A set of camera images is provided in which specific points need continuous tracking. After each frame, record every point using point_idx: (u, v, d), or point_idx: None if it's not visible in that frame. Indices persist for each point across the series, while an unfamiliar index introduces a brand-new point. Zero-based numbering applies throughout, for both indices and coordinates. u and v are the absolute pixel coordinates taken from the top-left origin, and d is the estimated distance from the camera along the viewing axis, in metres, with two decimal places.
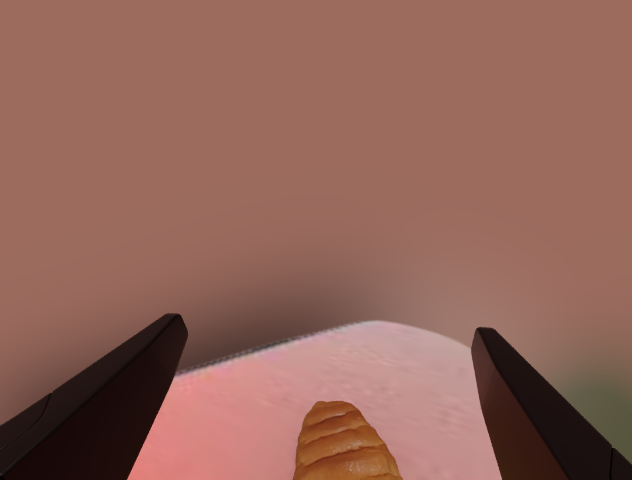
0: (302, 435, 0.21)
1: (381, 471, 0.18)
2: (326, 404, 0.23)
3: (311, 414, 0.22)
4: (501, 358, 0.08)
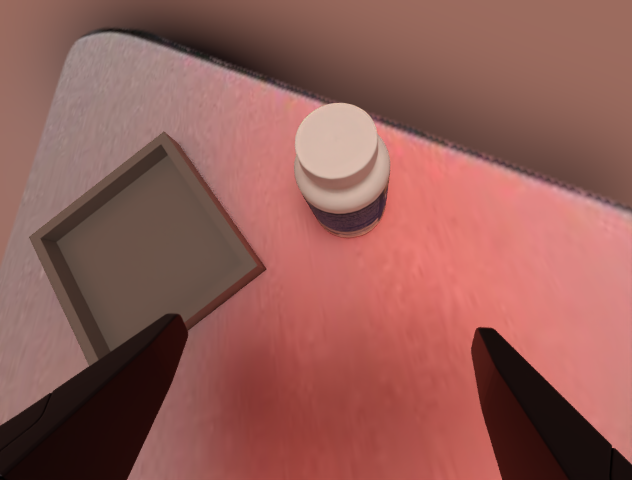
0: None
1: None
2: None
3: None
4: (501, 358, 0.08)
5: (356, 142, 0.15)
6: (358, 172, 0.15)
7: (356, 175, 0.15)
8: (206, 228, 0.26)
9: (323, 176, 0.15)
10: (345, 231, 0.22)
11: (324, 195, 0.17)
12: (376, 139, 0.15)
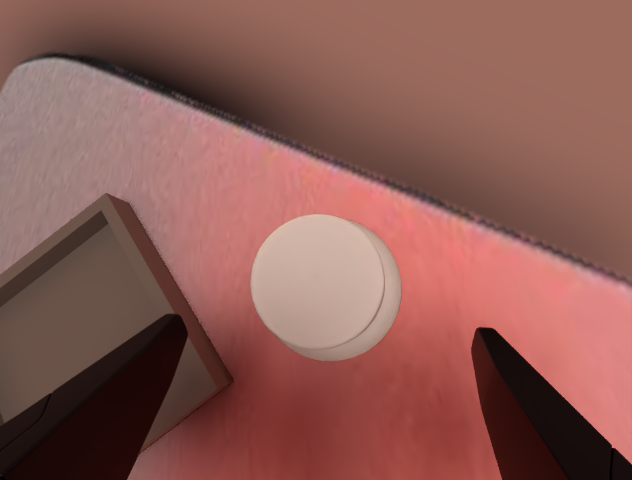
0: None
1: None
2: None
3: None
4: (501, 358, 0.08)
5: (349, 287, 0.09)
6: (353, 339, 0.09)
7: (348, 341, 0.09)
8: None
9: (294, 344, 0.09)
10: None
11: None
12: (382, 284, 0.09)
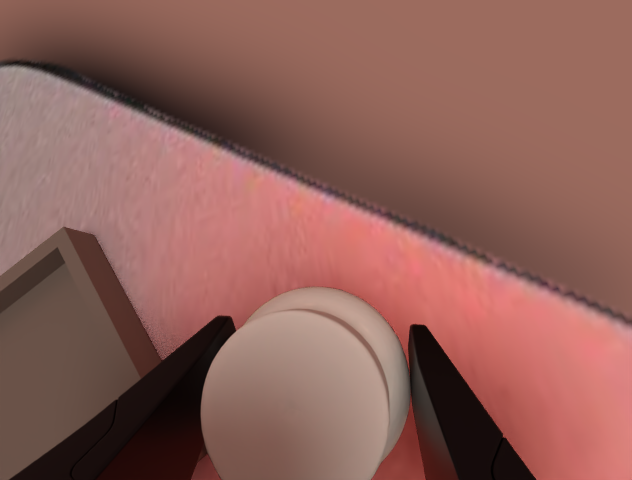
0: None
1: None
2: None
3: None
4: (424, 353, 0.08)
5: (339, 427, 0.06)
6: None
7: None
8: (122, 379, 0.17)
9: None
10: None
11: None
12: (386, 424, 0.06)
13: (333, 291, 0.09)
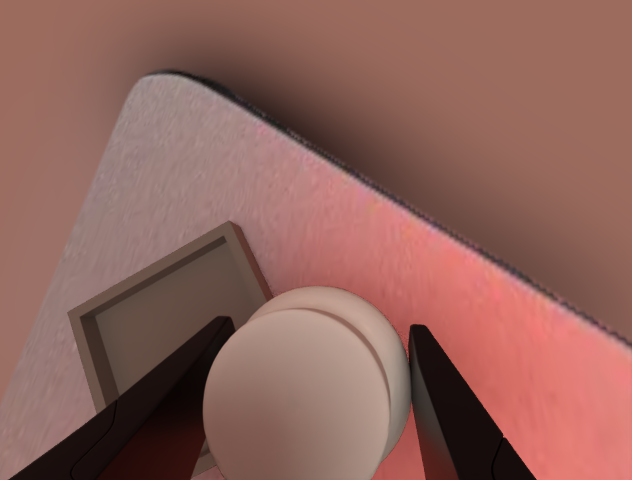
0: None
1: None
2: None
3: None
4: (424, 353, 0.08)
5: (339, 425, 0.06)
6: None
7: None
8: None
9: None
10: None
11: None
12: (387, 422, 0.06)
13: (334, 291, 0.09)
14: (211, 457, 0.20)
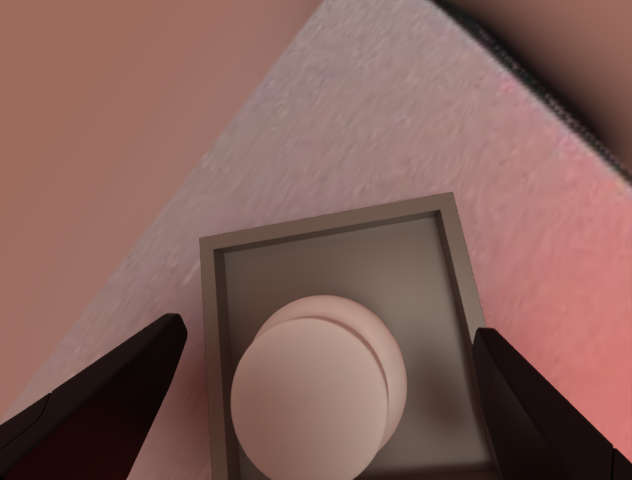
0: None
1: None
2: None
3: None
4: (502, 358, 0.08)
5: (346, 415, 0.08)
6: (350, 478, 0.08)
7: (345, 479, 0.08)
8: (446, 366, 0.16)
9: None
10: None
11: None
12: (386, 413, 0.08)
13: (340, 300, 0.11)
14: None
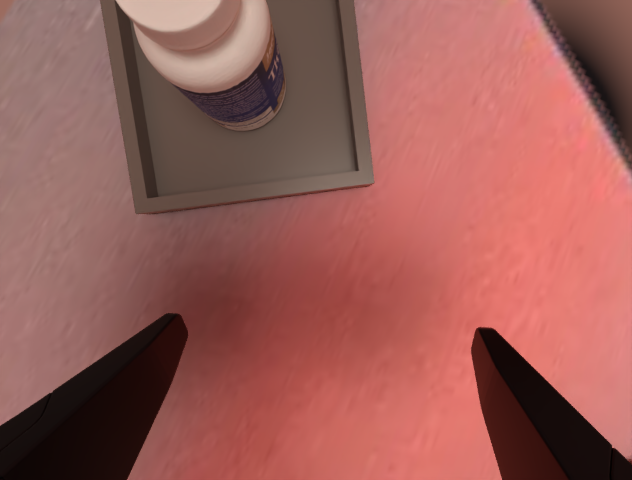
0: None
1: None
2: None
3: None
4: (501, 358, 0.08)
5: None
6: (204, 26, 0.10)
7: (200, 29, 0.10)
8: (329, 98, 0.20)
9: (150, 26, 0.10)
10: (229, 121, 0.18)
11: (173, 62, 0.12)
12: None
13: None
14: (246, 190, 0.19)
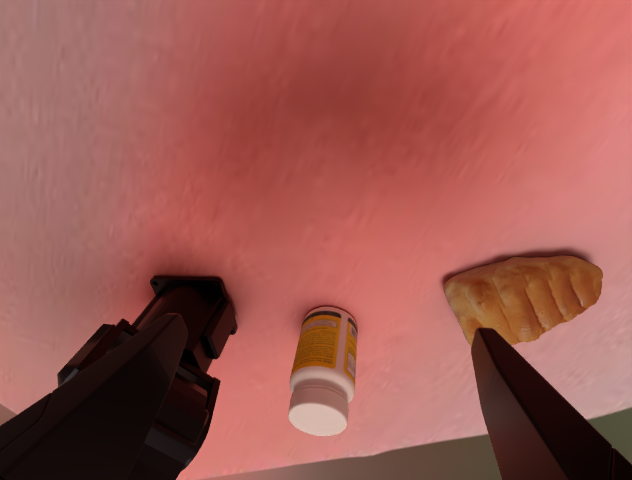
0: (558, 275, 0.20)
1: (522, 341, 0.22)
2: (597, 283, 0.20)
3: (584, 276, 0.20)
4: (501, 358, 0.08)
5: None
6: None
7: None
8: None
9: None
10: None
11: None
12: None
13: None
14: None
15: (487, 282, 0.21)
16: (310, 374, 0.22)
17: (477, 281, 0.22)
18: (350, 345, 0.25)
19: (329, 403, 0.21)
